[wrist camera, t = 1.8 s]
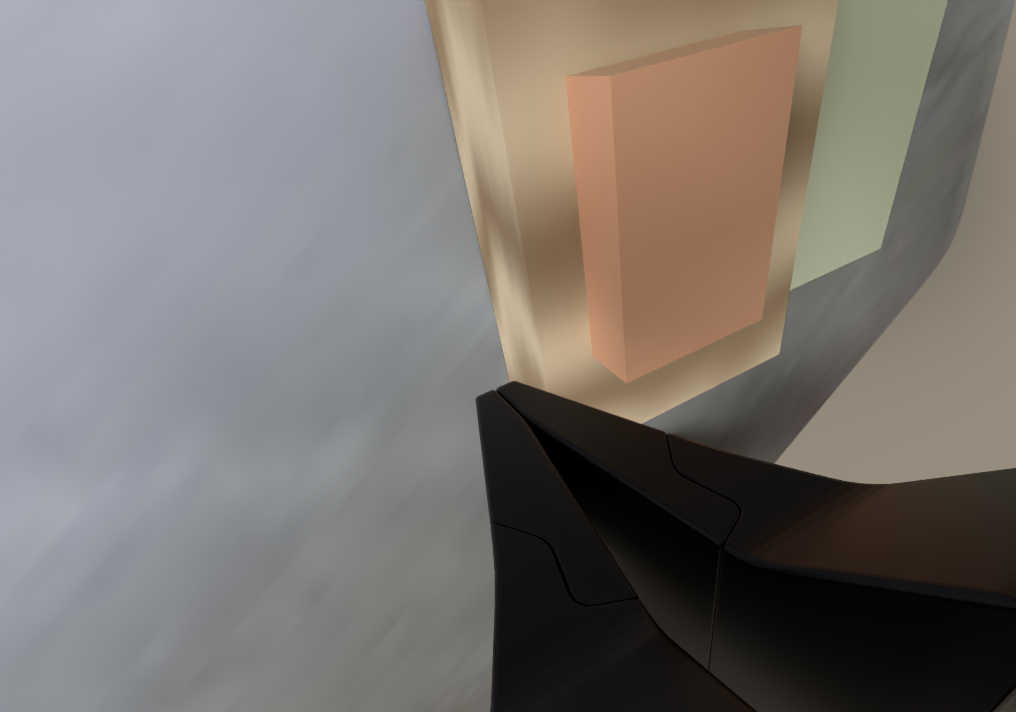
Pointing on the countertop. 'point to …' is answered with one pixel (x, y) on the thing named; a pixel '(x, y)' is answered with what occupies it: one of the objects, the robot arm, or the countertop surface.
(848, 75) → the mat
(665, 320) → the tile
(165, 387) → the countertop surface
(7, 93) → the countertop surface
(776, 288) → the tan wooden flat block
